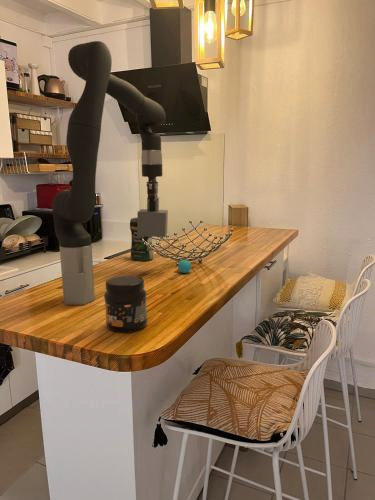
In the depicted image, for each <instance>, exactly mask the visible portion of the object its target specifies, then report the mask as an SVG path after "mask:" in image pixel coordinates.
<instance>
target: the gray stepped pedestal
mask: <svg viewBox="0 0 375 500" xmlns="http://www.w3.org/2000/svg"><path fill="white" fill-rule="evenodd" d="M146 201H147V202H146V209H143V208H142V209H139V210H138V211H137V214H136V215H137V217H136V218H137V236H151V237H155V238H156V237H157V238H166V236H167V234H168V219H169V217H168V213H169V212H168V211H169V210H168V209H160V197H159V196H158V197H156V200H155V207H156V210H155V211H150V210H149V200H148V197H147V198H146Z"/></svg>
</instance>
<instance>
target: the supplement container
mask: <svg viewBox="0 0 375 500" xmlns="http://www.w3.org/2000/svg"><path fill="white" fill-rule="evenodd" d="M105 290H106V291H105V292H104V295H103V296H104V304H105V305H104V307H105V309H104V310H105V324H106V328H108V329H109V330H111V331H113V332H116V333H131V332H136V331H139V330H141V329H143V328H144V327H145V326H146V325H147V323H148V313H147V311H148V309H147V296H148V295H147V294H148V293H147V291H146V289H145V279H144V278H143V277H141V276H136V275H119V276H114V277H111V278H109V279H106V281H105Z"/></svg>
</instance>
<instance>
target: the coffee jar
mask: <svg viewBox="0 0 375 500" xmlns="http://www.w3.org/2000/svg"><path fill="white" fill-rule="evenodd" d="M129 229H130V232H131V243H130V244H131V246H130V259H131V260H133V261H138V262H149V261H152V260H153V258H154V250H153V251H152V250H151V249H150V248H149V247H148V246H146V245H145V244H144V242H143V240H142V238H143V239H144V240H145V241H147V242H148V243H150V244H152V245H153V239H151V238H152V237H151V236H137V217H133V218H131V219H130V221H129ZM149 237H150V238H149Z"/></svg>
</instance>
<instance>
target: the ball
mask: <svg viewBox="0 0 375 500" xmlns="http://www.w3.org/2000/svg"><path fill="white" fill-rule="evenodd" d="M177 268H178V270H179V272H181V273H183V274H186V273H189V272H190V271H191V269H192V263H190V261H189V260H187V259H183V260H180V261H179V262H178V265H177Z"/></svg>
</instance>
